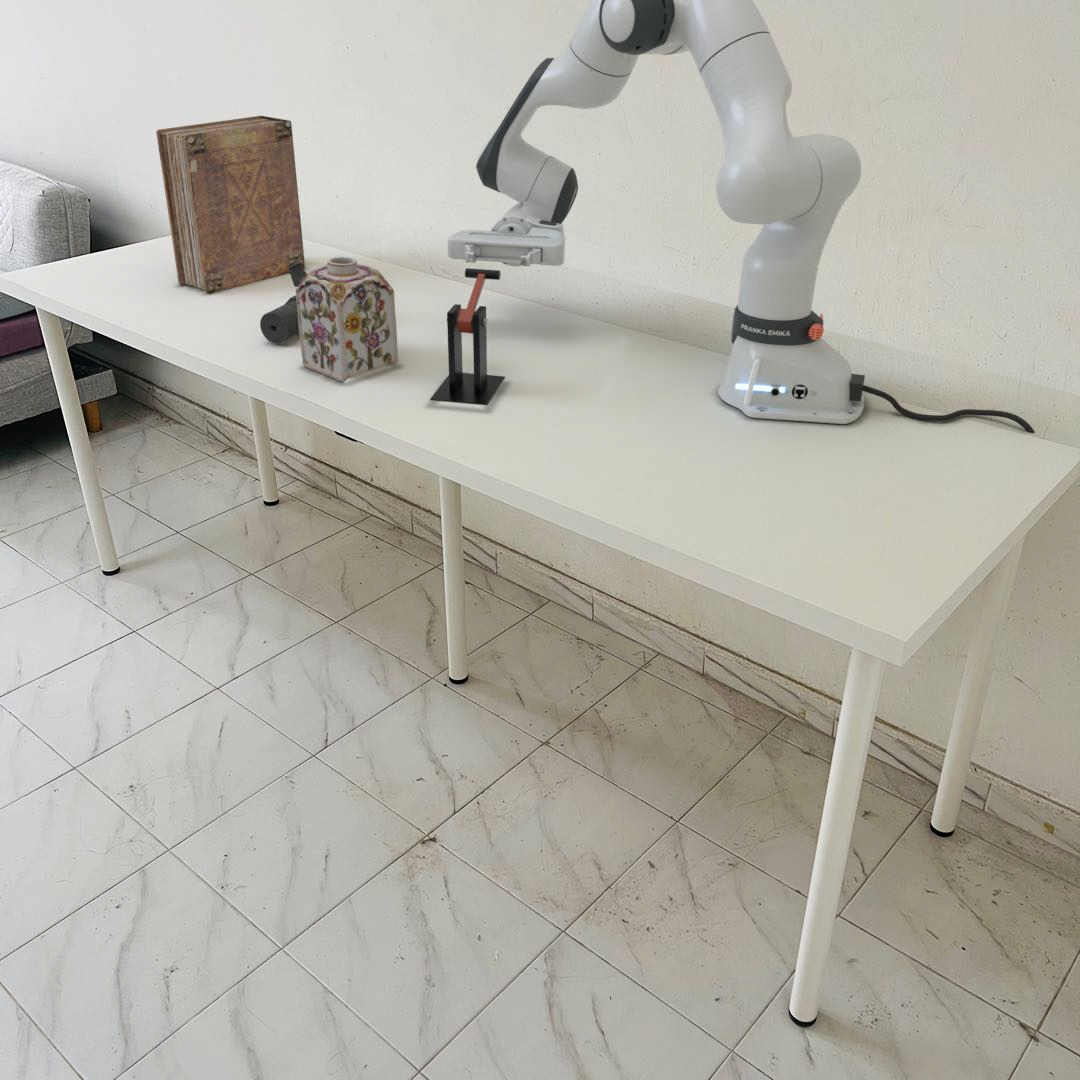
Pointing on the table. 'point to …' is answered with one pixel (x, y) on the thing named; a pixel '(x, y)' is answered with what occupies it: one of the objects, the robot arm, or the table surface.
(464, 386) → the switch bracket
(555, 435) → the table surface
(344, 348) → the decorative jar
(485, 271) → the switch lever
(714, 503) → the table surface
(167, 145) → the book
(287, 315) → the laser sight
